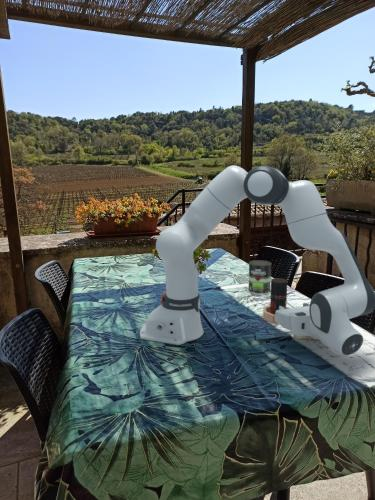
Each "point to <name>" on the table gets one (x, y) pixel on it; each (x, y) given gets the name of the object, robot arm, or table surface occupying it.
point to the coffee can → (259, 277)
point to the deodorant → (278, 294)
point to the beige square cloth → (303, 337)
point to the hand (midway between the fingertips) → (293, 306)
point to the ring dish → (269, 314)
